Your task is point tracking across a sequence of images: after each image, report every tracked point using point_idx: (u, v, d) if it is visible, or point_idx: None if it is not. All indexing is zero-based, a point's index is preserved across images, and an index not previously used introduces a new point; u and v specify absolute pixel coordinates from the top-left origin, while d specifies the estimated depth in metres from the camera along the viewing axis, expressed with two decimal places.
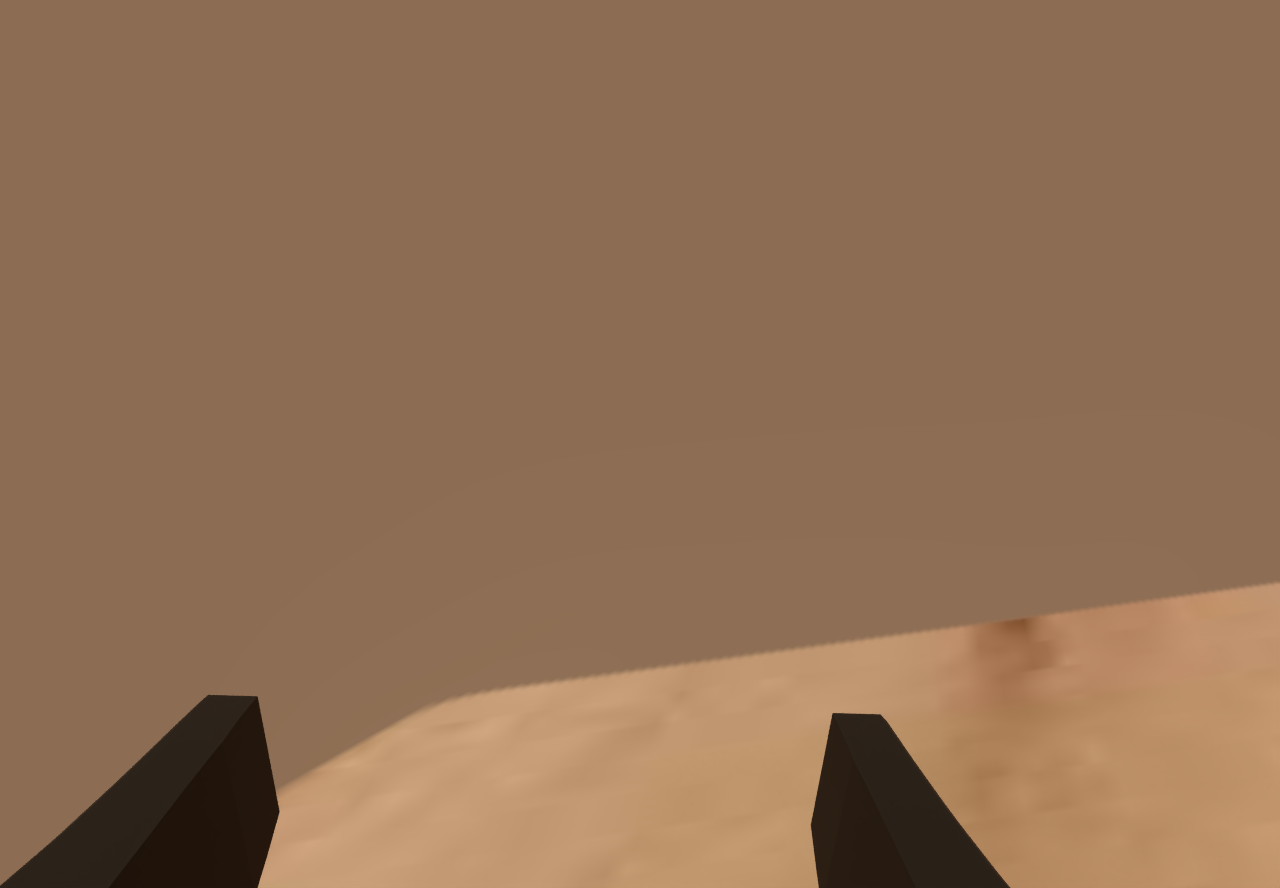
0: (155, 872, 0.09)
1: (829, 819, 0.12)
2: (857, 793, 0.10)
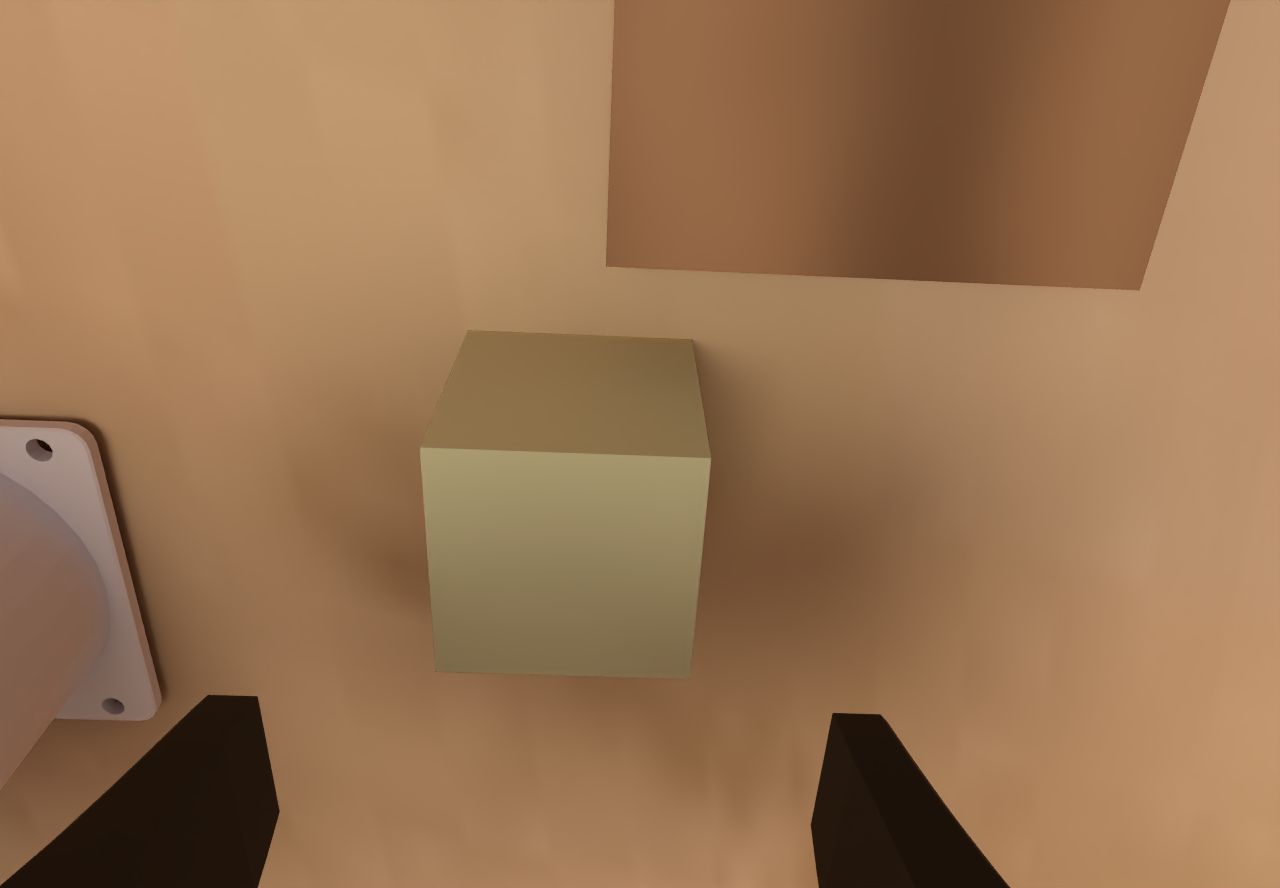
0: (155, 872, 0.09)
1: (829, 819, 0.12)
2: (857, 793, 0.10)
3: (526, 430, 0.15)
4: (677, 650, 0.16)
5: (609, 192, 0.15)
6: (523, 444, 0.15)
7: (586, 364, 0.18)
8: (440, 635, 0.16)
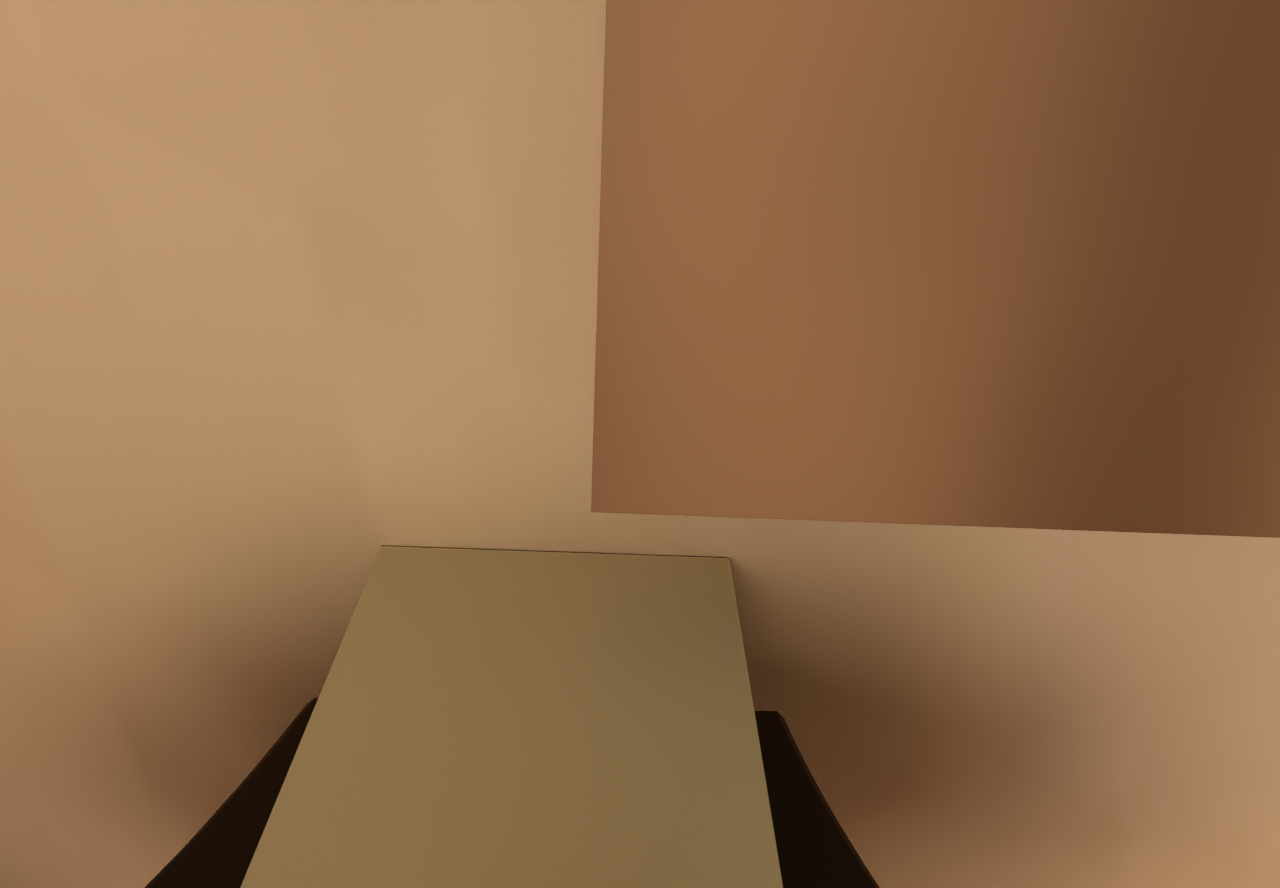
0: None
1: None
2: None
3: (448, 827, 0.08)
4: None
5: (596, 395, 0.08)
6: (436, 875, 0.08)
7: (562, 629, 0.11)
8: None
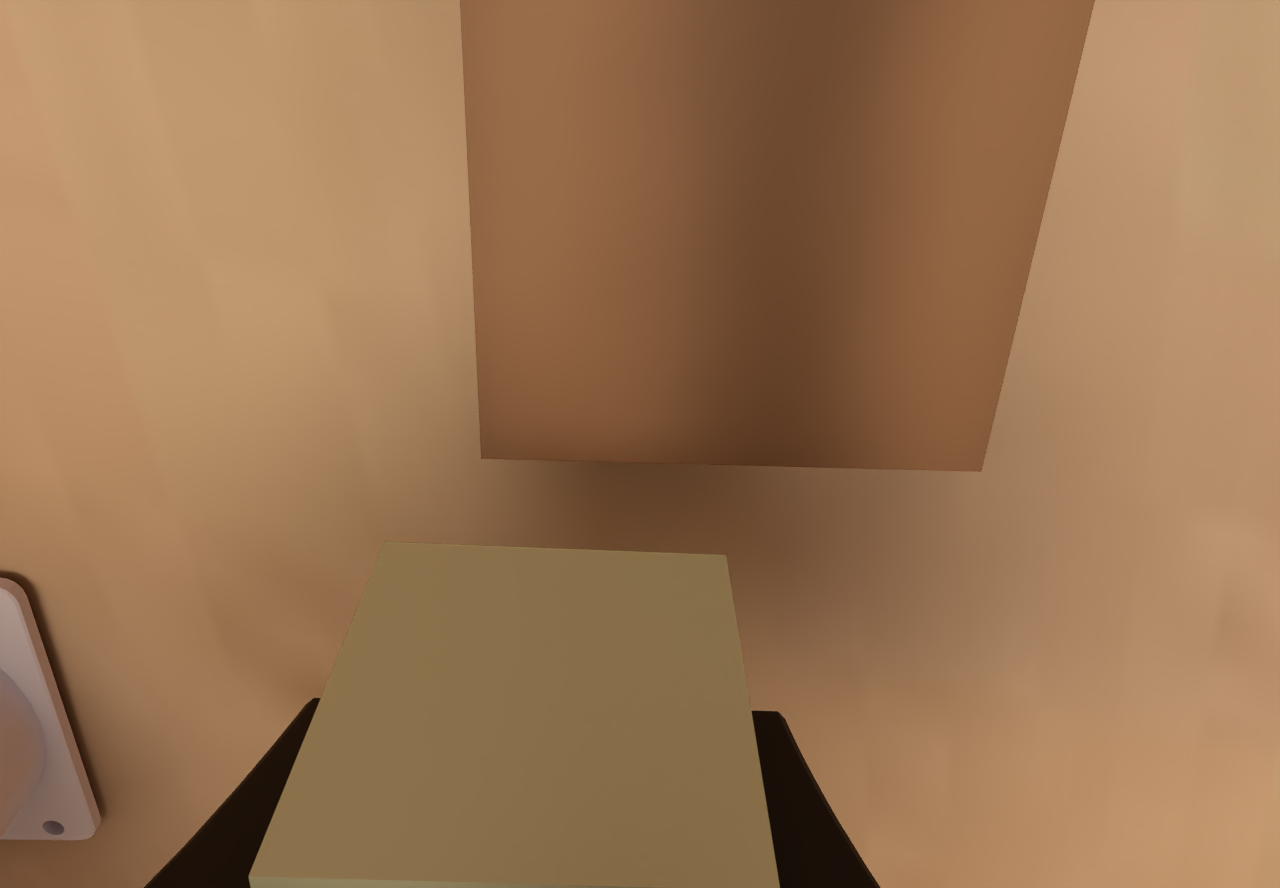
0: None
1: None
2: None
3: (451, 813, 0.09)
4: None
5: (479, 396, 0.16)
6: (440, 857, 0.08)
7: (561, 622, 0.11)
8: None
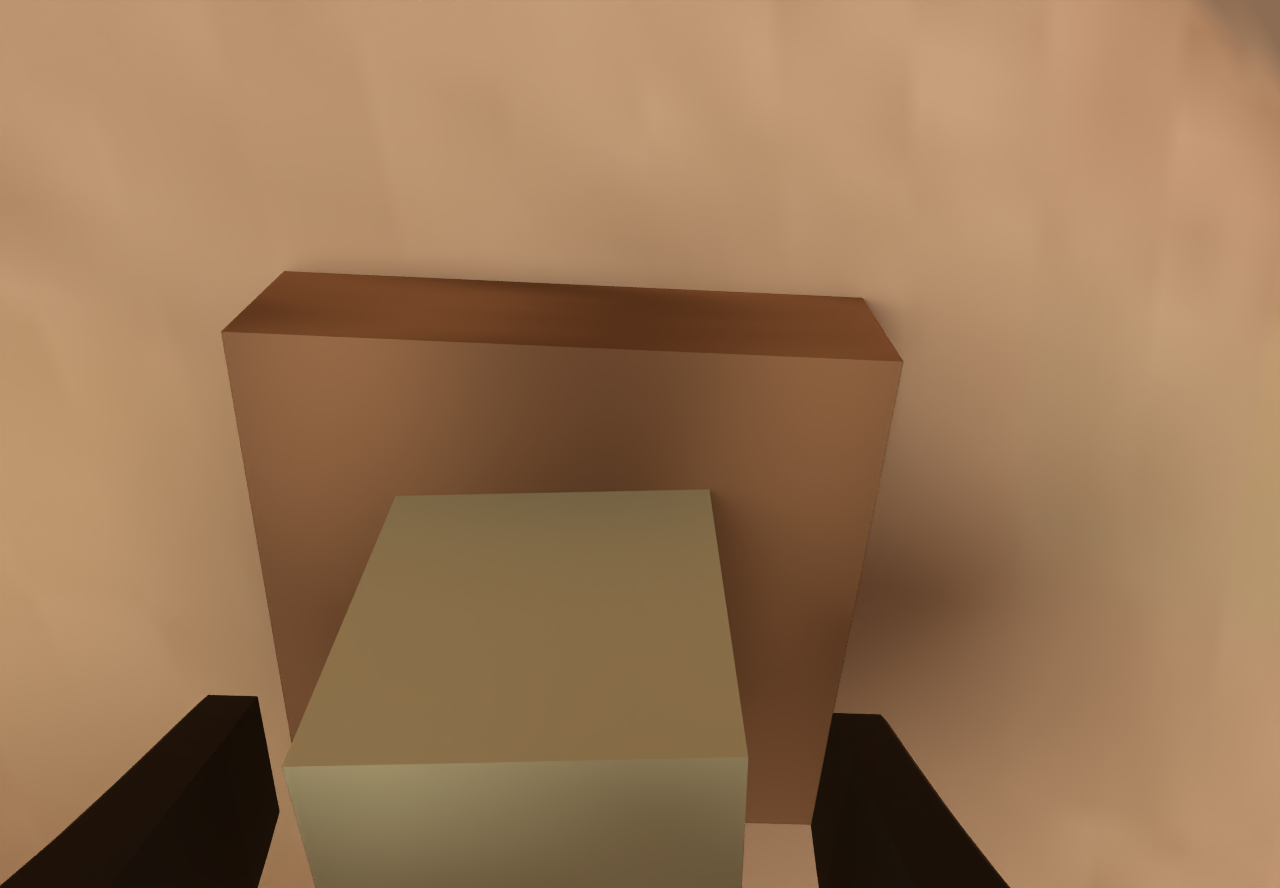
0: (155, 872, 0.09)
1: (829, 819, 0.12)
2: (857, 793, 0.10)
3: (457, 709, 0.10)
4: None
5: None
6: (448, 746, 0.09)
7: (557, 554, 0.12)
8: None
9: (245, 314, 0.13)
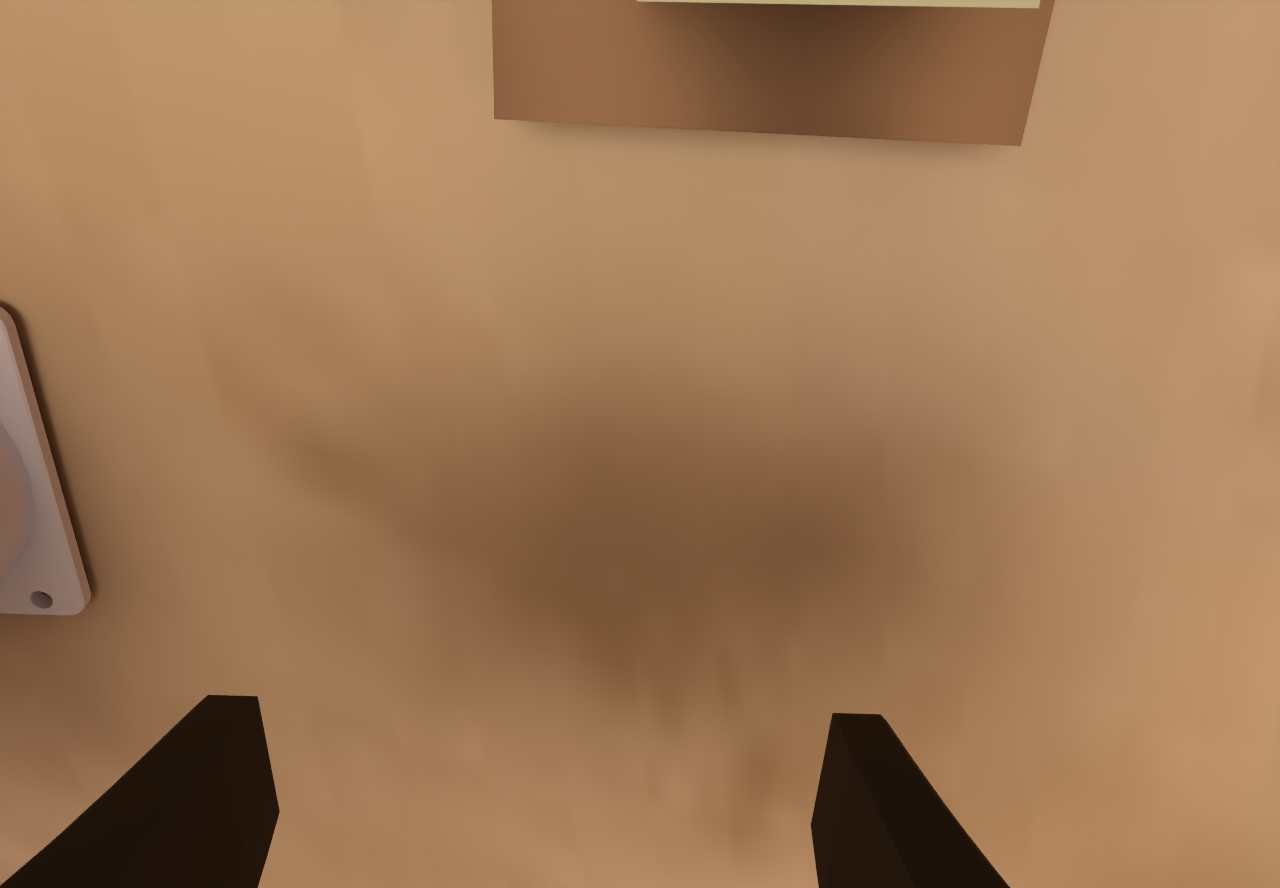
0: (155, 872, 0.09)
1: (829, 819, 0.12)
2: (857, 793, 0.10)
3: None
4: None
5: (493, 40, 0.15)
6: None
7: None
8: None
9: None
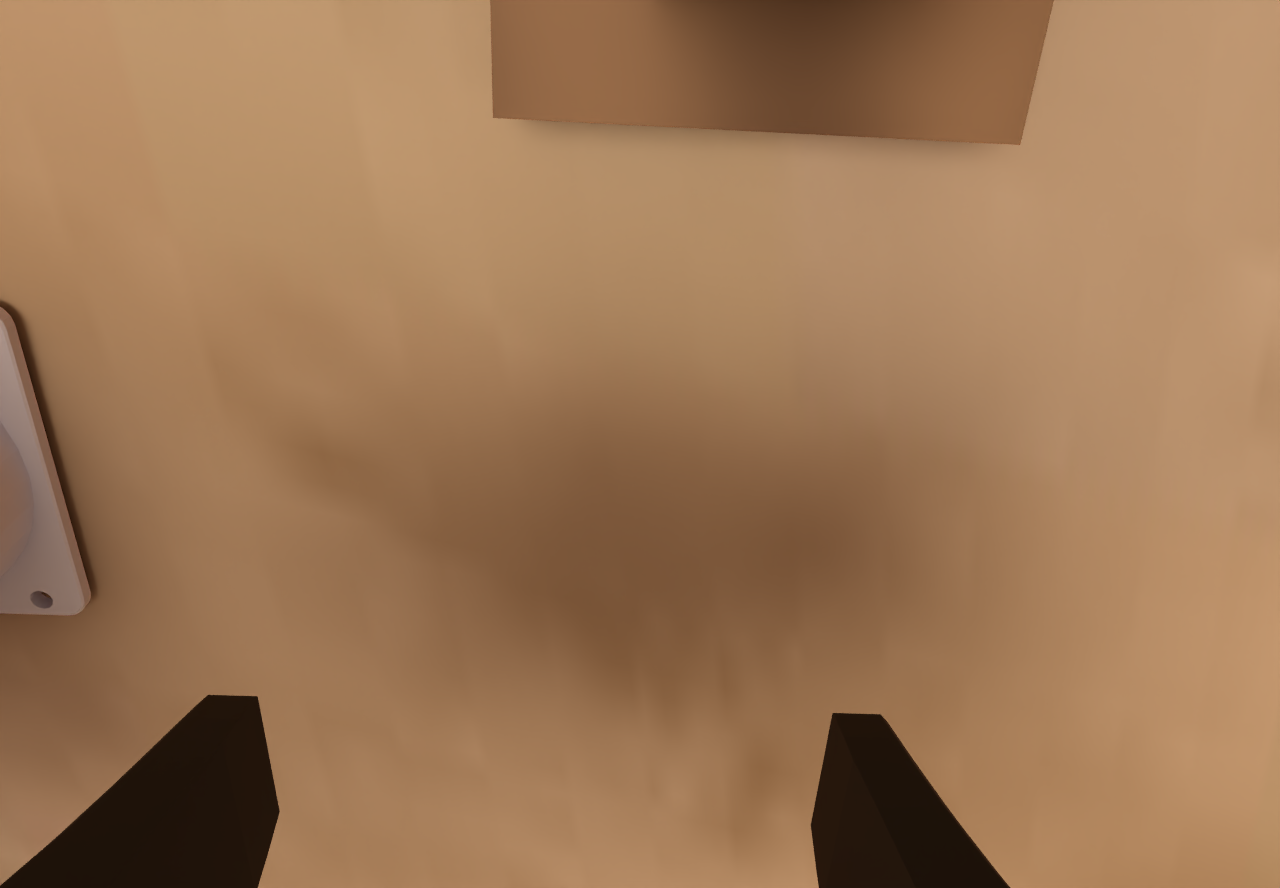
0: (155, 872, 0.09)
1: (829, 819, 0.12)
2: (857, 793, 0.10)
3: None
4: None
5: (492, 39, 0.15)
6: None
7: None
8: None
9: None
